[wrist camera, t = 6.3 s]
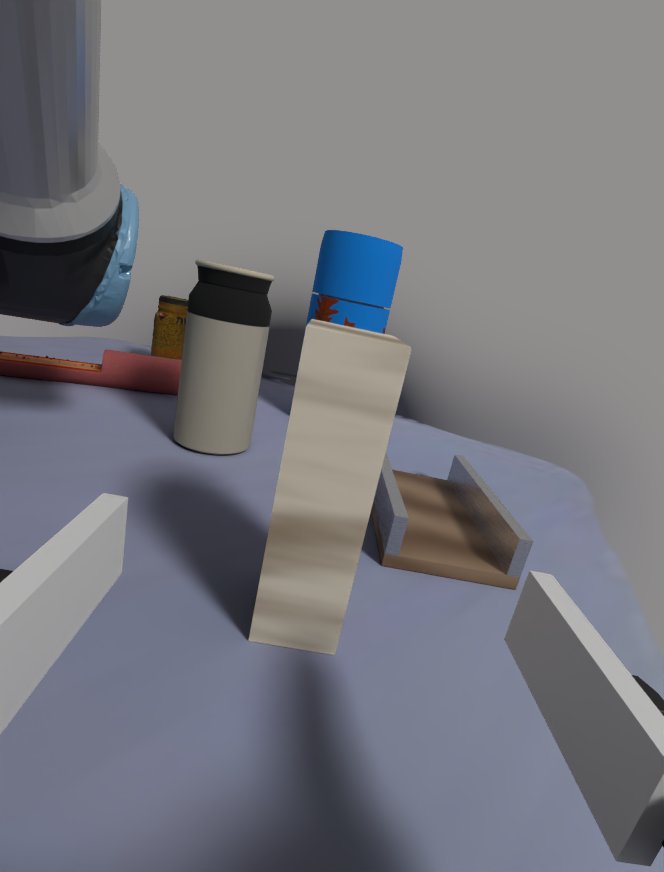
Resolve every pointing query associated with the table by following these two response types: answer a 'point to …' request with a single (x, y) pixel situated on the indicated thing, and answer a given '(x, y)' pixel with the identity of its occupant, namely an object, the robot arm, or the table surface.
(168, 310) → the condiment
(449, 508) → the floor track
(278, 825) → the table surface
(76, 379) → the blood vessel
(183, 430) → the travel mug
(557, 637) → the robot arm
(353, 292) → the thermos
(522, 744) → the table surface
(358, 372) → the pale wooden block
